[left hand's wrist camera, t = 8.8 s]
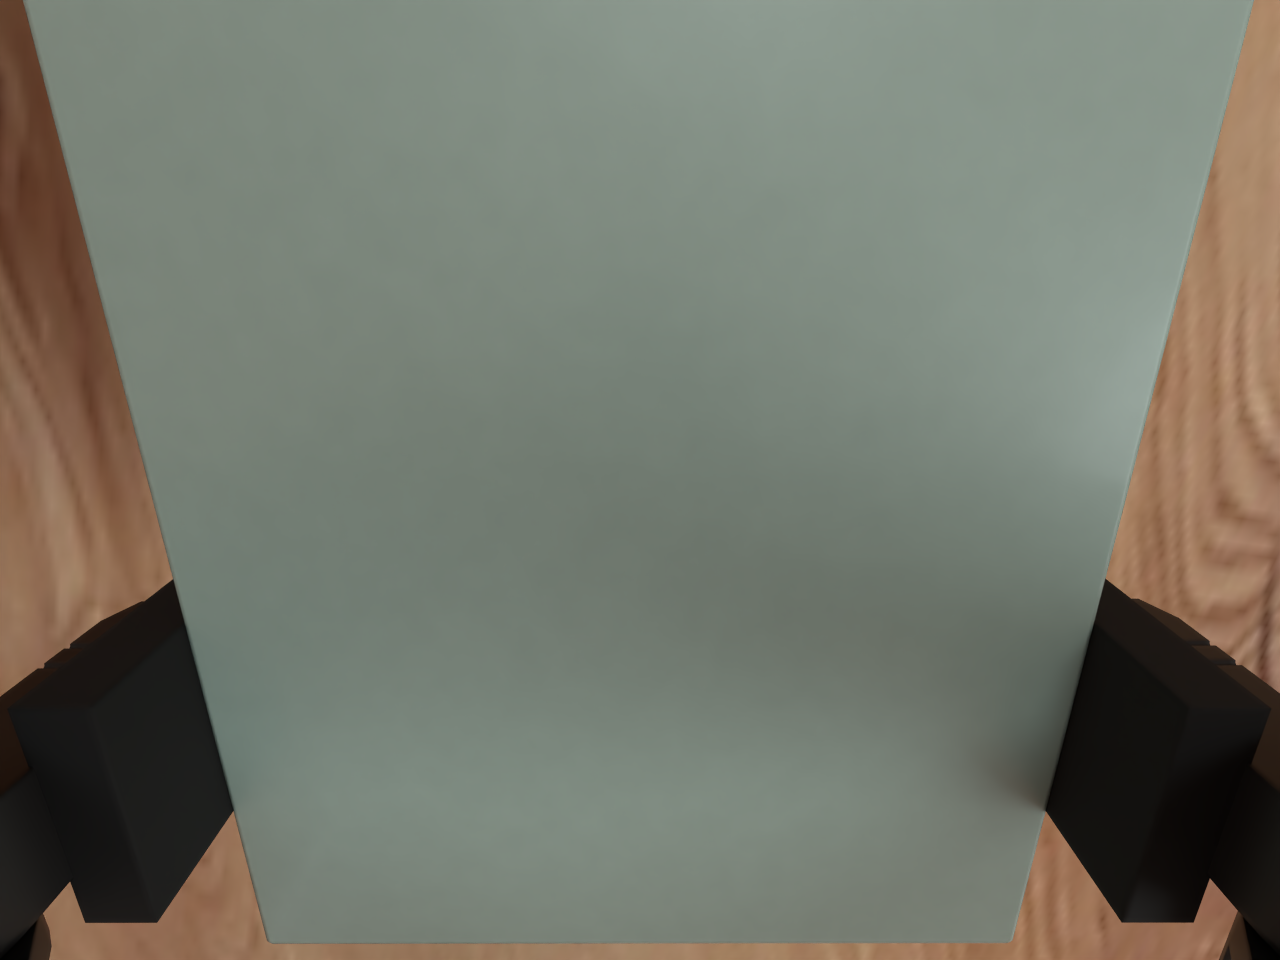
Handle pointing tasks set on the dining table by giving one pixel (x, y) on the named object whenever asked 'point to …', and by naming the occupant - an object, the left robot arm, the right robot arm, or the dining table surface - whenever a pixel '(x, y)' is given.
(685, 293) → the cabinet
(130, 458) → the dining table surface
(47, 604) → the dining table surface
